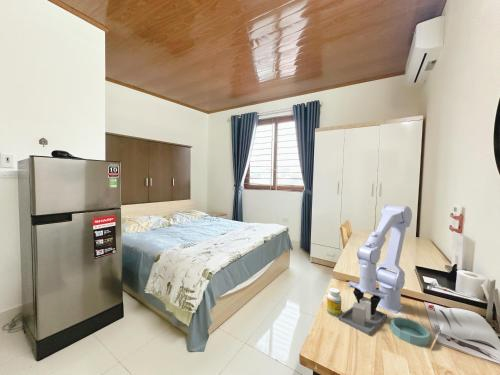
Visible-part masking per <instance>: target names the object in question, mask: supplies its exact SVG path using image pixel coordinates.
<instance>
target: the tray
mask: <svg viewBox="0 0 500 375" xmlns="http://www.w3.org/2000/svg"><path fill="white" fill-rule="evenodd" d="M352 316H353V306H351V307H350V308H349V309H348V310H346V311H344V312H343V313H341V315H340V316H339V317H338V321H339V322H342V323H344V324H346V325H348V326H349V327H352V328H353V329H356V330H358V331H359V332H362V333H363V334H364V335H366V336H371V335H372V333H373V332H375V331H376V329H377V328H379V327H380V325H381V324H382V323H383V322H384V321H385V320H386V319H387V318H388V314H386V313H384V312H382V311H379V310H377V309H376V311H375V314H374V316H373V317H372V318H371V319H368V318H366V322H365V326H361V325H358V324H355V323H352Z"/></svg>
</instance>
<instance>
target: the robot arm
mask: <svg viewBox="0 0 500 375" xmlns="http://www.w3.org/2000/svg"><path fill="white" fill-rule="evenodd" d="M381 208H382V209H381V211H380V212H381V219H380V221H379V224H378V226H377V228H376V230H375V231H372V232H371V233H370V234H369V236H368V238H367V240H366V241H365V243H364V245H361V246H359V248H358V249H357V252H356V257H357V260H358V263H359V282H354V281H351V280H350V281H348V284H347V287H348V288H352V289H353V292H352V293H353V295H354V297H355V299H356V303H359V304H360V299H361V298H363V297H365V296H364V294H369V295H371V297H370V298H369V299H371V315H374V314H375V311H376V310H377V308H381V309H383V310H386V311H389V312H390V313H394V314H398V313H399V311H400V310H401V309H402V308H403V307H404V305H403V304H401V300H402V298H401V295H402V294H401V293H402V291H401V289H403V288H404V286H405V283H406V279H405V277H406V276H405V275H406V273H405V271H404V270H403V268H401V267H400V266H399V265H400V260H401V256H402V250H403V245H404V240H405V235H406V229H407V228H409V227H410V226H411V222H412V218H413V212H412V209H411V207H410V206H401V205H392V204H384V205H383V206H382V207H381ZM390 229H391V231H390ZM389 231H390V237H389V240H388V244H387V250H386V256H385V259H384V261H382V262H380V263H379V261H380V259H381V253H382V251H381V250H382V248H383V246H384V244H385V243H386V241H387V238H386V235H387V233H388V232H389ZM377 264H378V265H377ZM377 284H378V285H379V287H378V288H377Z"/></svg>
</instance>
